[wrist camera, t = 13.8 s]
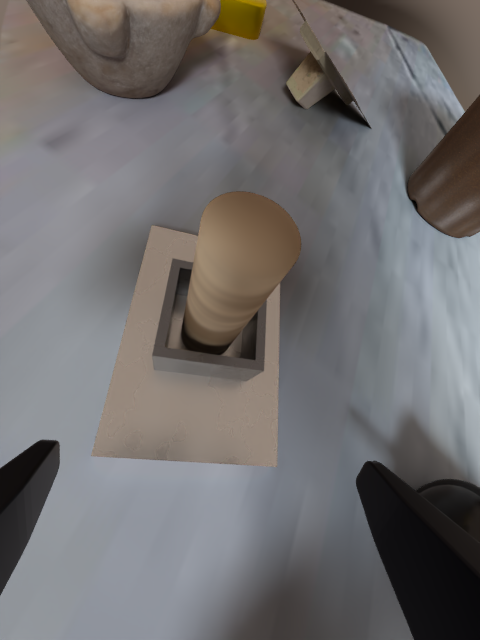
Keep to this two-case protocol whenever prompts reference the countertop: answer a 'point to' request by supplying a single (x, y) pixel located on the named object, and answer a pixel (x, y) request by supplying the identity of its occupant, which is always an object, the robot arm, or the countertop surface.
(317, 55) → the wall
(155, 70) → the mortar
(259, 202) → the rail post
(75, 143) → the countertop surface
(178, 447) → the post socket base
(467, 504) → the drinking cup
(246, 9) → the element tile
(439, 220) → the plant pot
